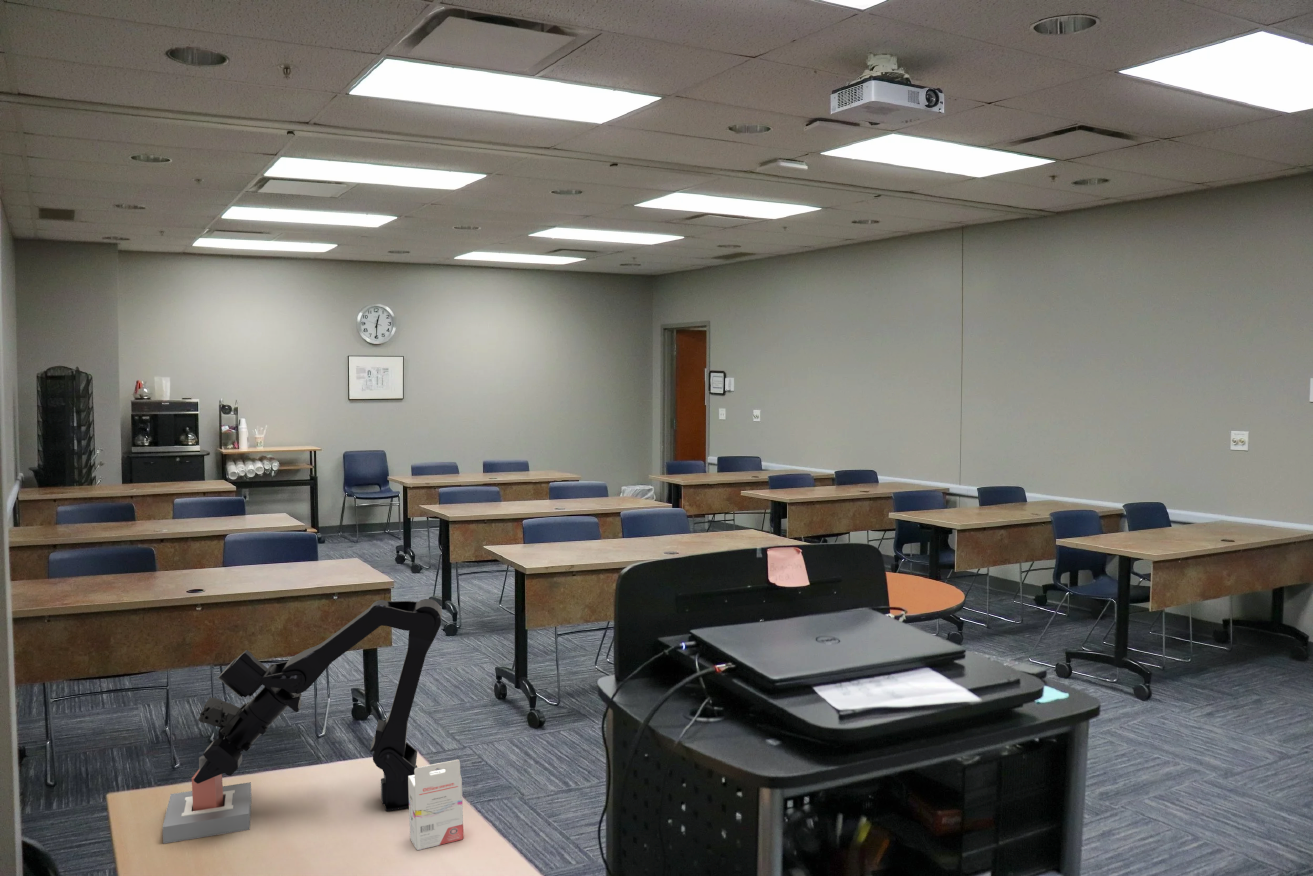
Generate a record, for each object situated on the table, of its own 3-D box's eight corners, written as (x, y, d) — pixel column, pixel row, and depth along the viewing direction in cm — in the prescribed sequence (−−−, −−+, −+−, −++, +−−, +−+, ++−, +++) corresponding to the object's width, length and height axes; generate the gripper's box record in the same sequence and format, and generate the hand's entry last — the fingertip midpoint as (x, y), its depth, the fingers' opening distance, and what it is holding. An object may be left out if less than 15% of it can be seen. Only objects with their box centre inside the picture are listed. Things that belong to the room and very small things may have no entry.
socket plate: (251, 797, 189) (250, 781, 188) (249, 829, 176) (248, 812, 175) (171, 809, 184) (170, 793, 183) (163, 843, 171) (162, 826, 170)
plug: (223, 814, 182) (220, 752, 181) (216, 824, 178) (213, 761, 177) (201, 815, 181) (198, 753, 180) (194, 825, 177) (190, 762, 176)
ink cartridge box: (456, 828, 176) (454, 749, 175) (464, 840, 172) (462, 759, 170) (408, 839, 172) (406, 758, 171) (415, 851, 168) (413, 769, 167)
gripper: (238, 668, 187) (179, 728, 186) (214, 702, 169) (148, 769, 168) (282, 705, 190) (224, 765, 188) (263, 742, 171) (199, 808, 170)
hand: (199, 775), depth 179 cm, fingers open, 5 cm apart
